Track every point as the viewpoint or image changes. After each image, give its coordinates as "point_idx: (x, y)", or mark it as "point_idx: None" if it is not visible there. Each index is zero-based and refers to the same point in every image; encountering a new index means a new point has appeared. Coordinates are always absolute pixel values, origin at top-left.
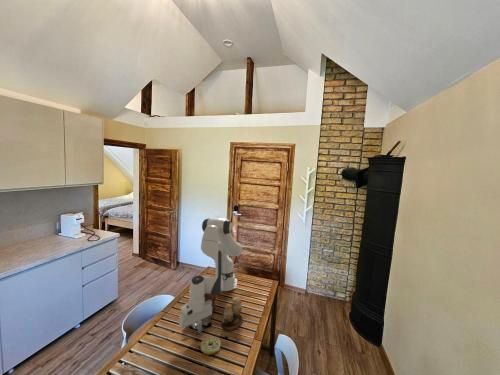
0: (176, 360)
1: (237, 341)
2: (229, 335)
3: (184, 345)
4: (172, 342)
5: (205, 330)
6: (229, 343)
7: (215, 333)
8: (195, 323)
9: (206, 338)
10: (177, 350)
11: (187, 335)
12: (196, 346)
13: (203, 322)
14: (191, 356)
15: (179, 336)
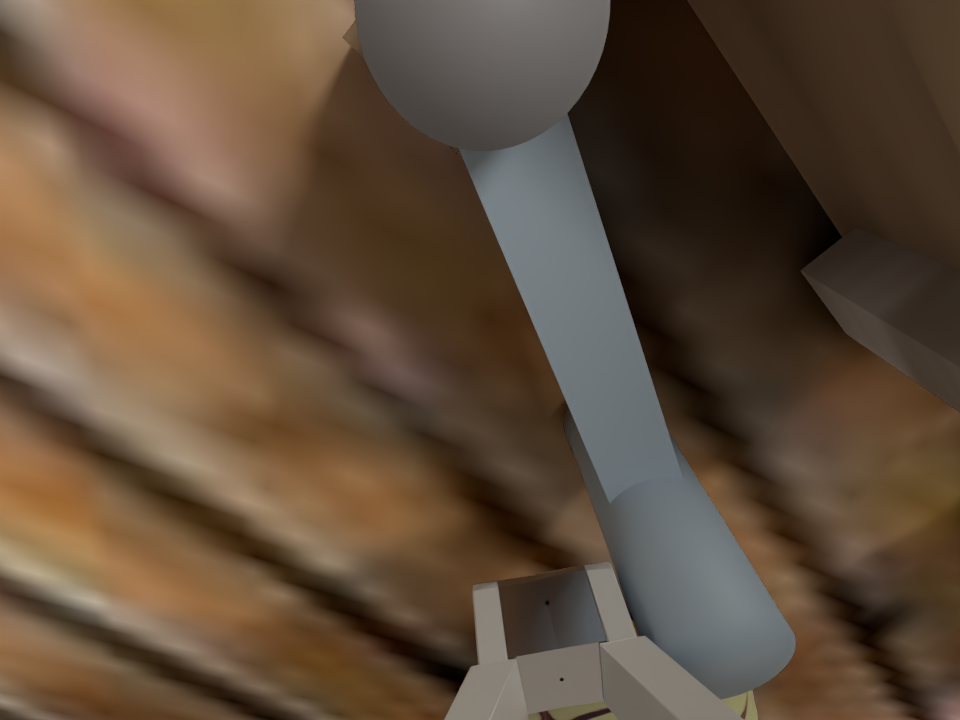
0: (117, 700)
1: (922, 699)
2: (942, 611)
3: (254, 547)
4: (3, 410)
5: (743, 391)
6: (830, 695)
7: (828, 518)
8: (626, 357)
9: (611, 718)
10: (126, 588)
11: (354, 362)
12: (437, 616)
13: (857, 311)
14: (326, 706)
15: (165, 313)
